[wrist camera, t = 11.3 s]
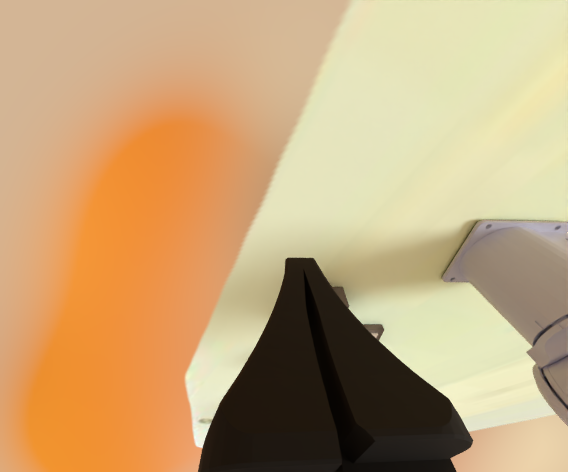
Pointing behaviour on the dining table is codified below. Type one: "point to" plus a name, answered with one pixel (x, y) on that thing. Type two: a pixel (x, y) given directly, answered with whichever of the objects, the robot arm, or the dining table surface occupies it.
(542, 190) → the dining table surface
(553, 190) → the dining table surface
